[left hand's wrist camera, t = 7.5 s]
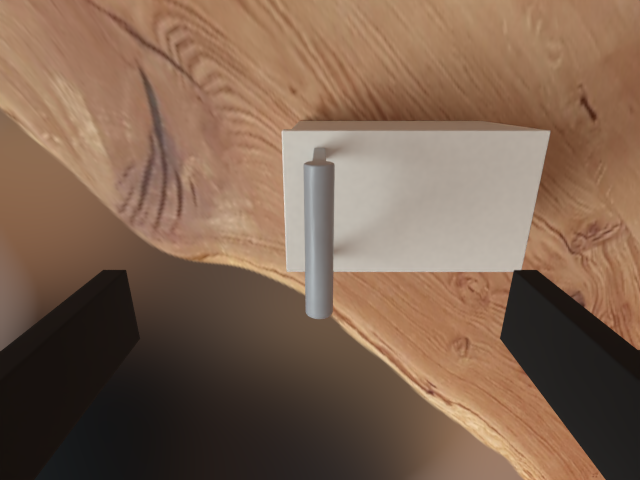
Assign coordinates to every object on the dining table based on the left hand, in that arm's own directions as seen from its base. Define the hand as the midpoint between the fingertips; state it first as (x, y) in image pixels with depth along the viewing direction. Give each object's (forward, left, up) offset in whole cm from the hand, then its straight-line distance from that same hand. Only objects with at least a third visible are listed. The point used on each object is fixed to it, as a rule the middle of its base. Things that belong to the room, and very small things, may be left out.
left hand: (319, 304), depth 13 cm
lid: (-3, +5, -13) cm, 15 cm away
